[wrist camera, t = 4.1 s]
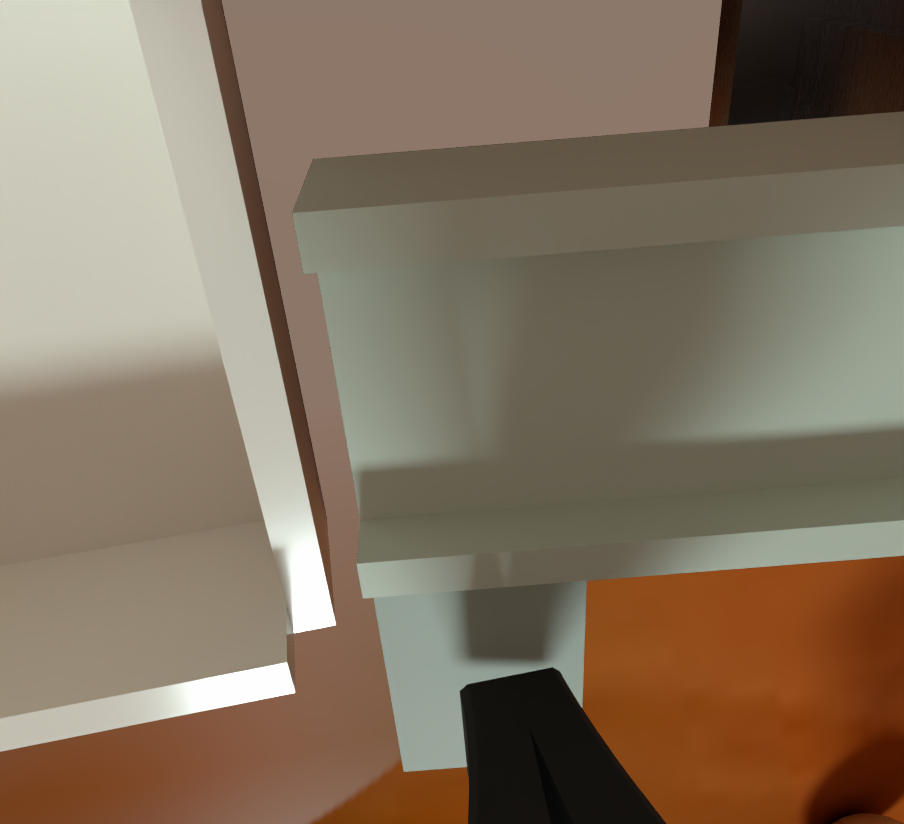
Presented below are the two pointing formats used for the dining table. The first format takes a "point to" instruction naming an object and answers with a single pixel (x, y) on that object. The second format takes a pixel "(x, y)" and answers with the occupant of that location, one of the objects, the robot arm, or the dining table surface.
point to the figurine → (866, 819)
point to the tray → (142, 382)
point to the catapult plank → (605, 378)
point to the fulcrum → (807, 60)
